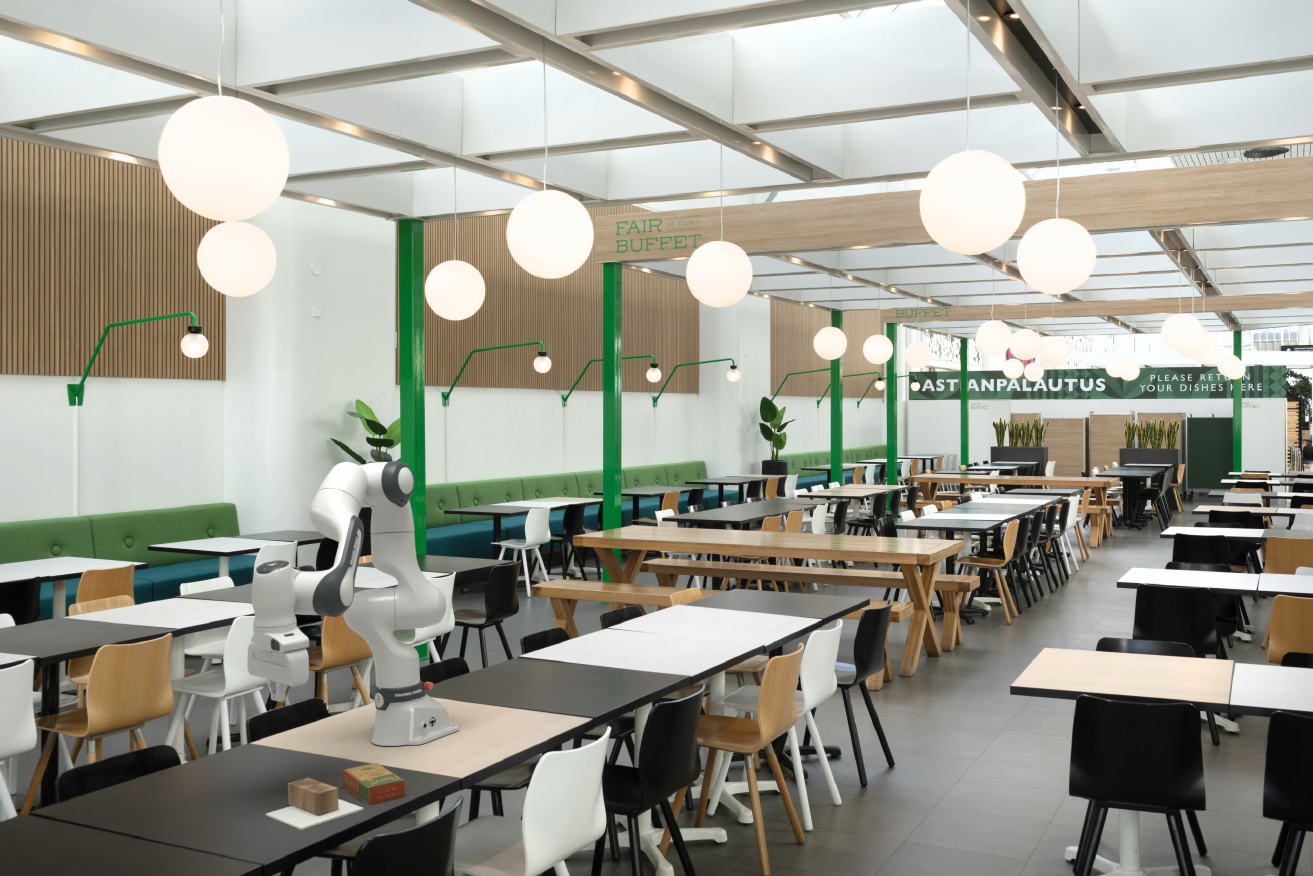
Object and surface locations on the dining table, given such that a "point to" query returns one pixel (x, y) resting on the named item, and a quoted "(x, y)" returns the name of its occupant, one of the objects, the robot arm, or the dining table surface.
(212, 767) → the dining table surface
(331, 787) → the block
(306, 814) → the mat
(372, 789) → the carton
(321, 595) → the robot arm
